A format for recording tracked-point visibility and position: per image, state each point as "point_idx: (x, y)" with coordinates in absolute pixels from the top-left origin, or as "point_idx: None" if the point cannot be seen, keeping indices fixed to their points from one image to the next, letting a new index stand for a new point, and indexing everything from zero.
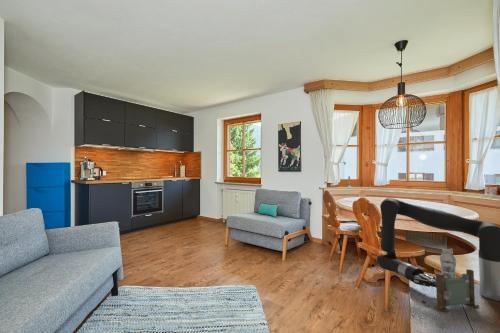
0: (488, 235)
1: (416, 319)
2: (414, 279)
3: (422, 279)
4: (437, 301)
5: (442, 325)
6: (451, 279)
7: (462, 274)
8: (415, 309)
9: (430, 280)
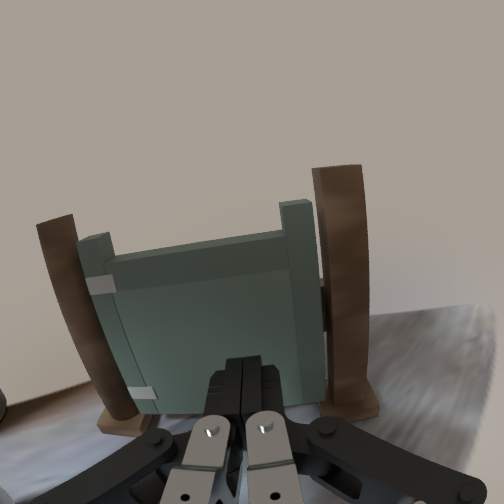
0: None
1: (490, 330)
2: (477, 495)
3: (379, 467)
4: (364, 372)
5: (413, 319)
6: (227, 241)
7: (99, 240)
8: (482, 388)
9: (274, 442)
